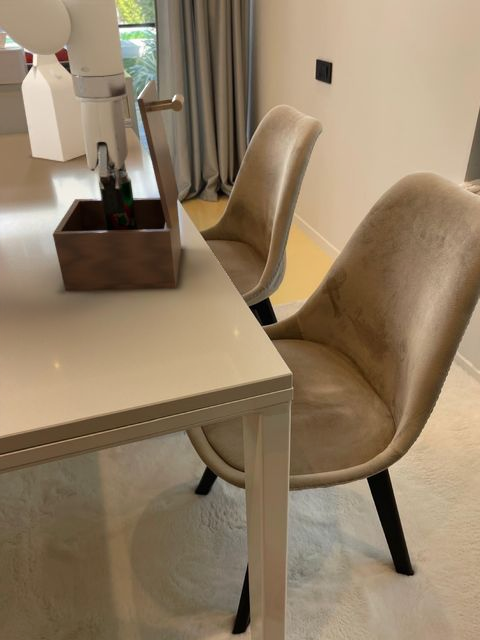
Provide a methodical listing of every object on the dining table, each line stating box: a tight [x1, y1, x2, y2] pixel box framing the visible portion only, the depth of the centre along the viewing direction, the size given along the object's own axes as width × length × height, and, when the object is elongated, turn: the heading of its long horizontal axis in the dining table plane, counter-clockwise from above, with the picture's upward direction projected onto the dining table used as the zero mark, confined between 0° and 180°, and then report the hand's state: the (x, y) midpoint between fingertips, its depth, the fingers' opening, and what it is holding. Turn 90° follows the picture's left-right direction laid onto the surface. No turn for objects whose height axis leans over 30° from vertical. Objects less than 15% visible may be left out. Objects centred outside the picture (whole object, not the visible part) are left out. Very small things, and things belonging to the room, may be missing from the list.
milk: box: [21, 53, 86, 163], centre depth 154 cm, size 12×12×26 cm
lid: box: [136, 79, 185, 229], centre depth 88 cm, size 19×16×5 cm
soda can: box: [98, 171, 137, 230], centre depth 93 cm, size 5×5×12 cm
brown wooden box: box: [52, 197, 182, 292], centre depth 96 cm, size 18×16×10 cm
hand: (118, 205), depth 92 cm, fingers closed on soda can, 5 cm apart
